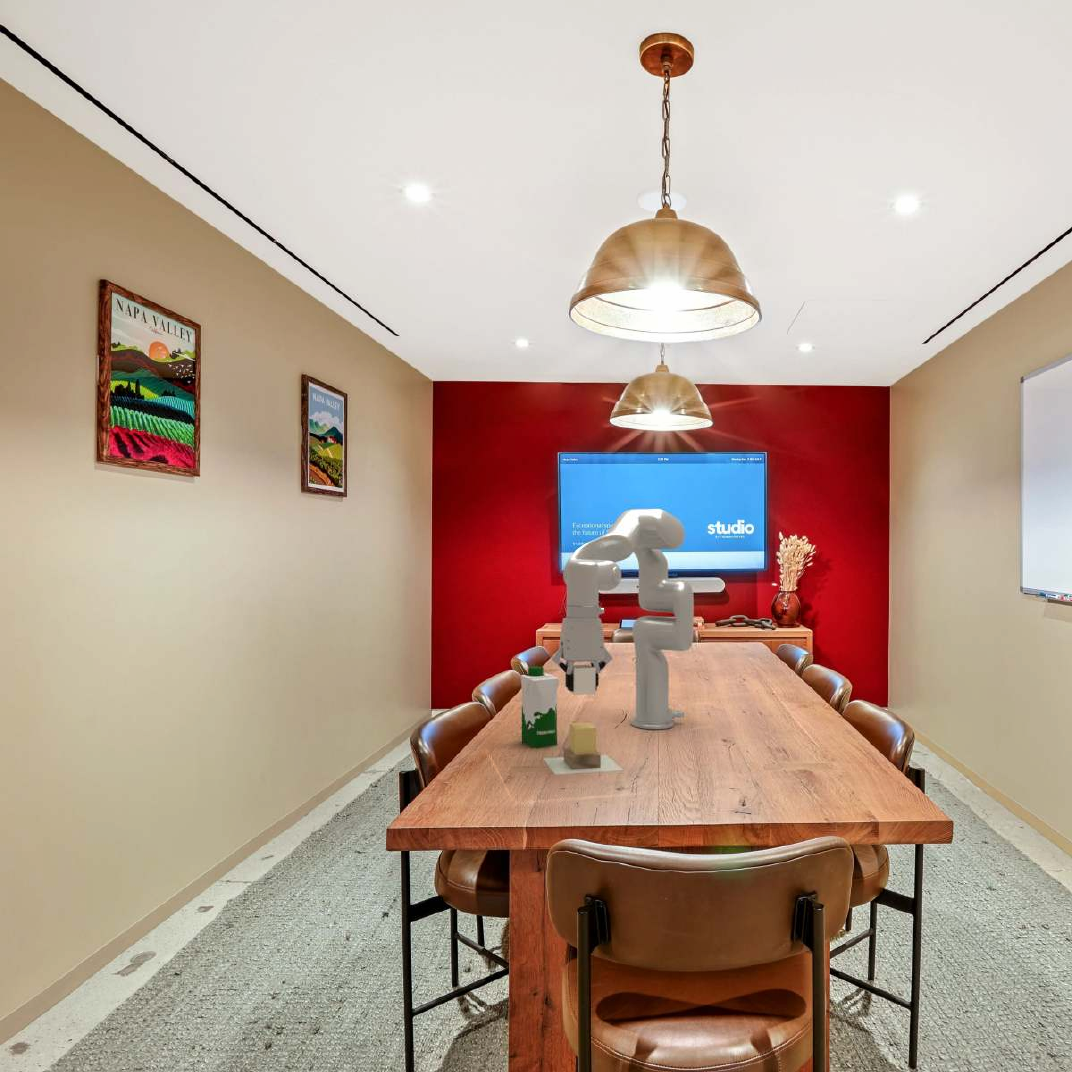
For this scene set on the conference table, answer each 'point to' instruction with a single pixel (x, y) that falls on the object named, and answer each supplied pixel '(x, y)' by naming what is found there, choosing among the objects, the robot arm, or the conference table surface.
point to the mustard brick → (582, 738)
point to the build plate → (562, 768)
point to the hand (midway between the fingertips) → (581, 689)
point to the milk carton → (539, 708)
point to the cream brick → (583, 679)
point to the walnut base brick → (582, 760)
